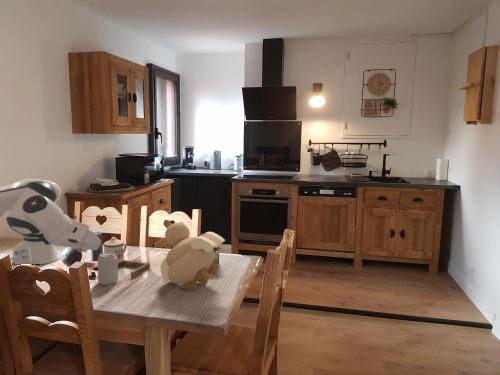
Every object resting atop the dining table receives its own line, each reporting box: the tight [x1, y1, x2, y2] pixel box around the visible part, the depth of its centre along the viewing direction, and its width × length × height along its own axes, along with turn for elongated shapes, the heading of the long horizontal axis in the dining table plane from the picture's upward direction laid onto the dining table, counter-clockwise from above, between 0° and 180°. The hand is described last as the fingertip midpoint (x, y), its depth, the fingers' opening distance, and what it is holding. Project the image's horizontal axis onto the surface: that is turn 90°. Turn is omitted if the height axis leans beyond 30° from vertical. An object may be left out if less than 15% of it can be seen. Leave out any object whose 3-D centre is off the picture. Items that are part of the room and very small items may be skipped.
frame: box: [118, 259, 151, 279], centre depth 167 cm, size 14×13×2 cm
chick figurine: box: [159, 220, 226, 293], centre depth 151 cm, size 30×28×23 cm
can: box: [97, 252, 119, 286], centre depth 153 cm, size 8×8×12 cm
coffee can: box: [197, 232, 220, 267], centre depth 177 cm, size 10×10×14 cm
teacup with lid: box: [103, 236, 127, 263], centre depth 181 cm, size 12×9×12 cm
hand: (83, 250), depth 139 cm, fingers closed
